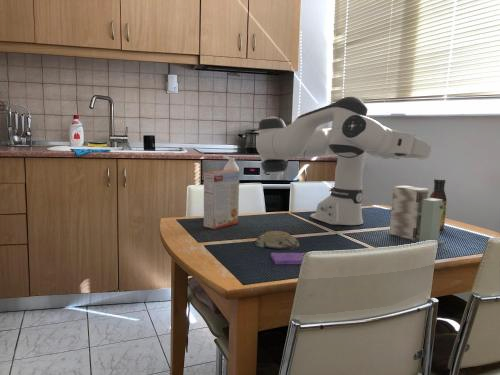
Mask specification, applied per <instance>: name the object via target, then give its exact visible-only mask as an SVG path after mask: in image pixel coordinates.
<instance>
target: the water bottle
mask: <svg viewBox="0 0 500 375" xmlns="http://www.w3.org/2000/svg"><path fill="white" fill-rule="evenodd" d="M222 159H225V160H228V161H227V163H225V166H224V167H223V170H235V171H239V172H240V167H239V166H238V164H237V162H236V160H235V157H230V156H228V155H223V156H222Z"/></svg>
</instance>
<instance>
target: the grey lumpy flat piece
mask: <svg viewBox="0 0 500 375" xmlns="http://www.w3.org/2000/svg"><path fill="white" fill-rule="evenodd" d="M254 242H255V244H254V245H256V246H258V247H260V248H263V249H264V248H269V249H276V250H283V251H284V250H285V251H286V250H294V249H297V248H298V247H300V243H299V241H298V239H297V238H296V237H294V236H293V235H291V234H290V233H289V232H286V231H280V230H270V231H266V232H264V233H263V234H261V235H259V236H257V238H256V239H255V240H254Z"/></svg>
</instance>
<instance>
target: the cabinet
mask: <svg viewBox="0 0 500 375" xmlns="http://www.w3.org/2000/svg"><path fill="white" fill-rule="evenodd" d="M429 194H430V188H426V187H420V186H418V187H417V186H411V185H405V184H402V185H396V186H395V185H394V186H393V189H392V201H391V213H390V222H389V223H390V224H389V225H390V226H389V235H391V236H396V237H400V238H404V239H407V240H408V239H409V240H410V242H412V243H415V242H419V236H420V226H421V215H422V205H423V199H428V198H429ZM444 243H445V244H446V243H447V241H444V240H440V239H439V241H438V245H437V246H440V245H442V244H444Z"/></svg>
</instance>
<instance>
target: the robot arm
mask: <svg viewBox="0 0 500 375" xmlns="http://www.w3.org/2000/svg"><path fill="white" fill-rule="evenodd" d="M368 110H369V109H368V107H367V106H366V104H365V102H363V100H362V99H361V98H359V97H355V96H346V97H342V98H340V99H338V100H337V101H334V102H333V103H331V104H328V105H326V106H323V107H319V108H317V109H315V110H314V109H313V110H311V111H308V112H305V113H304V114H303V113H302V114H301V115H298V117H296V118H295V120H294V121H293V122H291V123H290V124H289V125H286V123H285V121H284V120H283V118H280V117H277V116H267V117H266V118H264V119H261V120H260V121H259V123H258V131H259V132H258V137H257V140H256V144H255V146H256V151H257V152H258V154H259V156H260V159H261V161H260V164H261V168H262V170H263V171H264V173H268V174H271V175H277V174H278V175H279V174H280V173H281V174H282V172H285V171H286V170H287V169H288V165H289V160H293V159H301V158H302V159H303V158H316V157H317V158H318V157H327V156H329V157H330V156H335V155H336V156H337V161H336V166H335V168H334V169H335V173H334V183H333V184H334V186H333V187H331V188H330V187H329V188H328V192H330V193H329V194H330V195H328V196H327V197H326V198H324V199H323V200H321V201H320V202H318V203H317V206H316V212H315V213H311V214H310V218H312V219H314V220H318V221H321V222H324V223H326V224H329V225H339V226H340V225H341V226H342V225H344V226H357V225H358V226H359V225H362V224H364V220H363V214H362V213H363V212H362V201H363V176H364V168H365V163H366V160H367V155H370V156H372V157H374V158H381V159H383V160H388V159H390V158H391V159H393V160H400V159H418V160H419V161H420V160H421V161H426V159H429V157H430V154H431V150H432V147H431V145H430V144H428V143H427V142H426V141H424V140H422V139H421V138H418V137H415V134H414V133H412V132H407V131H398V130H395V129H391V128H389V127H387V126H384V125H382V124H381V123H380V122H379V121H377V120H375V119H373V118H370V117H368V116H367V114H368ZM330 122H332V124H331V128H320V129H318V128H319V127H320V126H322V125H324V124H327V123H330Z"/></svg>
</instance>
